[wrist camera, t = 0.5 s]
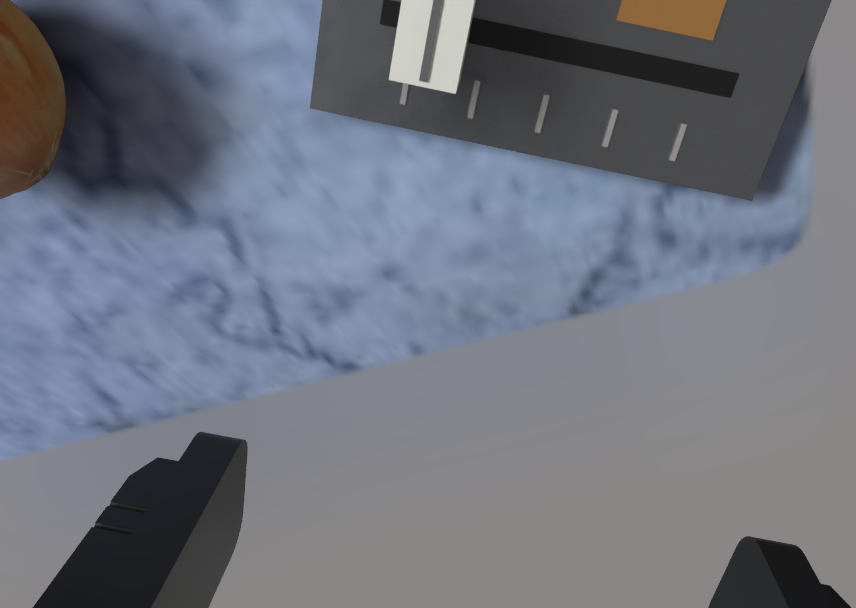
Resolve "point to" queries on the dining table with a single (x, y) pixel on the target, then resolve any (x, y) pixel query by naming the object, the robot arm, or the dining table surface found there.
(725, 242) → the dining table surface
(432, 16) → the fader
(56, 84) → the onion
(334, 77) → the console
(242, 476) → the robot arm
